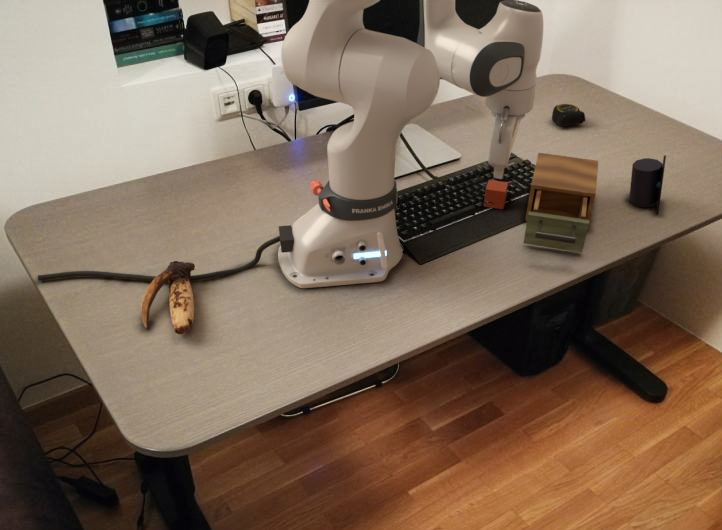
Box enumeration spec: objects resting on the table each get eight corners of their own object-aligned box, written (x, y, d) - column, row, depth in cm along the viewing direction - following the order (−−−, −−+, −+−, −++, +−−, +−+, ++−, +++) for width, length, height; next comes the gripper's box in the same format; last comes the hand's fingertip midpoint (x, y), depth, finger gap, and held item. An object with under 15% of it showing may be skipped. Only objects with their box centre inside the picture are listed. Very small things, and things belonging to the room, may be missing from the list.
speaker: (670, 203, 141) (678, 156, 134) (657, 215, 138) (666, 168, 131) (635, 193, 145) (642, 147, 138) (622, 205, 142) (629, 159, 135)
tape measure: (559, 130, 166) (562, 116, 163) (546, 119, 170) (548, 104, 168) (583, 127, 167) (587, 112, 165) (570, 115, 172) (572, 101, 170)
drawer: (580, 268, 122) (587, 238, 118) (520, 258, 124) (524, 229, 119) (585, 217, 135) (592, 189, 130) (530, 209, 136) (535, 181, 132)
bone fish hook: (143, 282, 118) (142, 349, 105) (135, 259, 115) (134, 325, 102) (198, 273, 120) (204, 337, 107) (192, 250, 116) (198, 314, 103)
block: (503, 209, 138) (505, 192, 135) (483, 206, 138) (485, 189, 136) (505, 199, 141) (508, 182, 138) (486, 197, 141) (488, 179, 139)
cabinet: (587, 230, 133) (595, 193, 128) (525, 221, 135) (531, 184, 129) (590, 196, 143) (598, 160, 137) (532, 187, 145) (538, 152, 139)
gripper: (520, 123, 117) (510, 194, 126) (533, 76, 131) (524, 143, 141) (483, 118, 118) (477, 189, 127) (501, 73, 132) (494, 139, 142)
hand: (502, 164), depth 134 cm, fingers open, 8 cm apart
